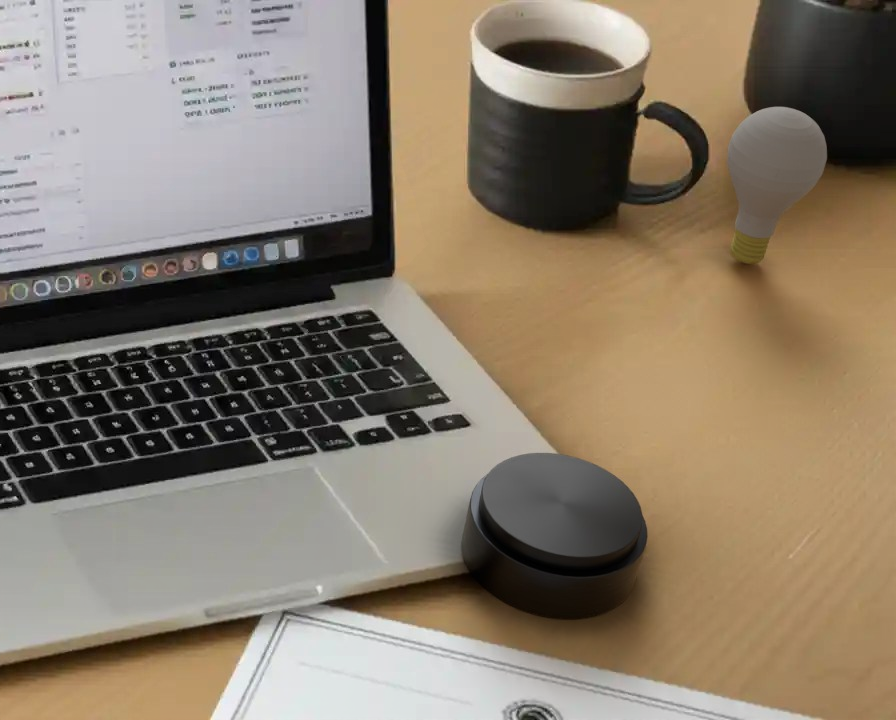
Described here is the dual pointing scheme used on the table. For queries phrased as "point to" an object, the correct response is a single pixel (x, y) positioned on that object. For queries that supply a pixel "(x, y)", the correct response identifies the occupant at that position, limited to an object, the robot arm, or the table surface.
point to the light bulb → (771, 173)
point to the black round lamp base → (554, 536)
